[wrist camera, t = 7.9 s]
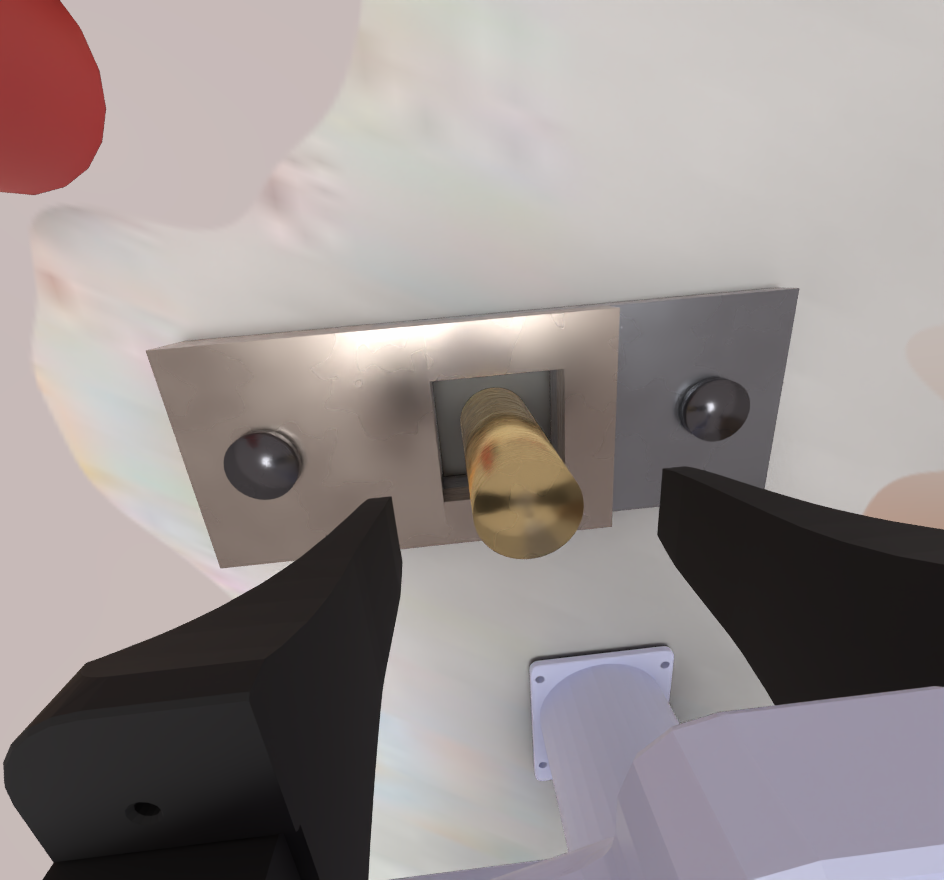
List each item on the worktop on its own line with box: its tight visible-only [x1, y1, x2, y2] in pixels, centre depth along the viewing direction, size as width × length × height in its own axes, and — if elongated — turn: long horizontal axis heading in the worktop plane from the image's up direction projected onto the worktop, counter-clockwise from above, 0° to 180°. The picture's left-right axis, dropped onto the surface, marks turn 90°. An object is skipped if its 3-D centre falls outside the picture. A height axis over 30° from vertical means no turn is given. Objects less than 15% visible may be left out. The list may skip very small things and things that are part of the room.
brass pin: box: [460, 388, 584, 559], centre depth 15 cm, size 3×3×8 cm
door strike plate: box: [146, 288, 799, 568], centre depth 18 cm, size 24×9×3 cm, turn 95°
